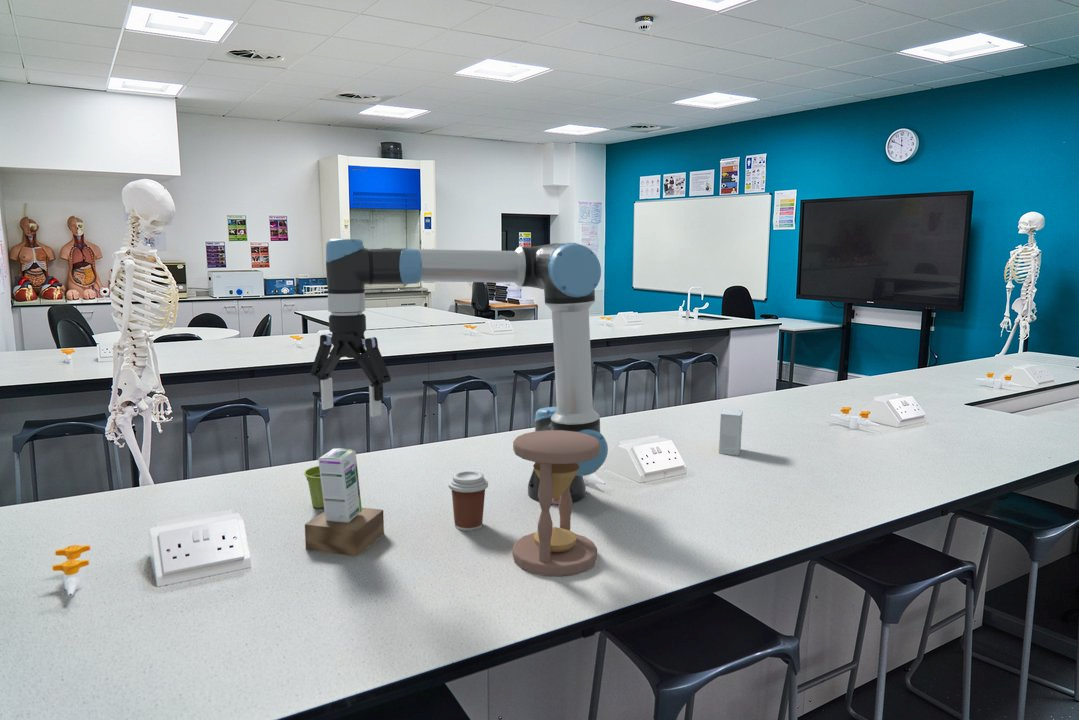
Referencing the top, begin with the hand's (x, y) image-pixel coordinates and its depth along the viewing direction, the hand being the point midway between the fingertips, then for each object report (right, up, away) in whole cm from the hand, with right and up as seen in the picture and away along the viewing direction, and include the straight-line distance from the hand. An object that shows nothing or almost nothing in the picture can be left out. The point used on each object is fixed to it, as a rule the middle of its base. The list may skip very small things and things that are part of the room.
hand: (351, 412), depth 149 cm
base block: (-2, -29, +2) cm, 29 cm away
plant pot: (-13, -25, +23) cm, 36 cm away
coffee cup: (+24, -27, +11) cm, 38 cm away
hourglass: (+44, -30, -5) cm, 53 cm away
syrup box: (-2, -23, 0) cm, 23 cm away
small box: (+101, -18, +73) cm, 126 cm away
